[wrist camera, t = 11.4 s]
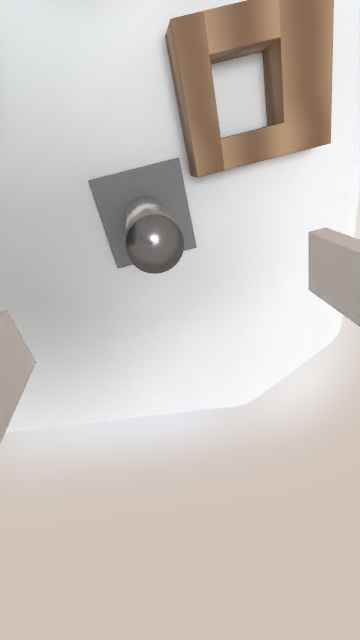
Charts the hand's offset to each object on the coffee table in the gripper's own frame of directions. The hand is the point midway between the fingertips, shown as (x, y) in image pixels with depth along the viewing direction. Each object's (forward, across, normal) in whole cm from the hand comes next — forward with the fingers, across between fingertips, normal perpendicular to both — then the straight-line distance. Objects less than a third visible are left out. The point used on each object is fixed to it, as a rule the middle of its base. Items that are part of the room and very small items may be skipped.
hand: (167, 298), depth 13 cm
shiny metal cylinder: (+25, 0, -1) cm, 25 cm away
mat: (+25, 0, -1) cm, 25 cm away
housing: (+25, +13, +8) cm, 30 cm away
